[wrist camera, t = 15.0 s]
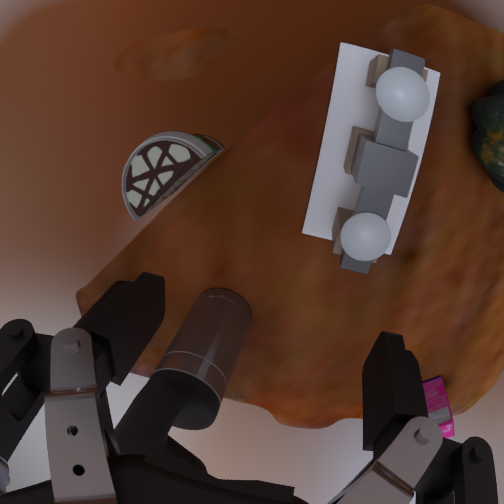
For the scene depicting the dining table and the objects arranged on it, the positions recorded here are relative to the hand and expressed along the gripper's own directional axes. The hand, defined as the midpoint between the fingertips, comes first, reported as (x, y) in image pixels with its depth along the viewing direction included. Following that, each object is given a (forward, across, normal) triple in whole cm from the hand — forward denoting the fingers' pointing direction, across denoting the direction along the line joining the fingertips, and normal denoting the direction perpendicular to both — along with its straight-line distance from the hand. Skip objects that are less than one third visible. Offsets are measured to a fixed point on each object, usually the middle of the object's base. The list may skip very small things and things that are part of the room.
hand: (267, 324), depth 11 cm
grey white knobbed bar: (+25, -7, -3) cm, 26 cm away
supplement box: (+30, -33, +34) cm, 56 cm away
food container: (+30, +16, +2) cm, 34 cm away
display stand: (+30, -7, -3) cm, 31 cm away
